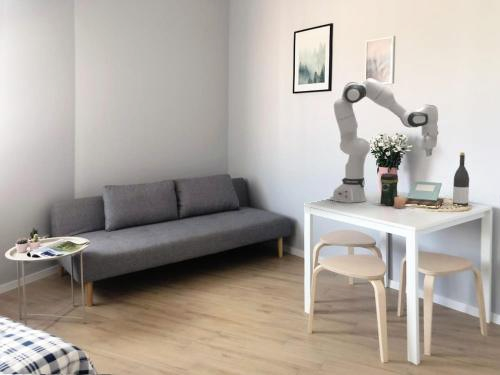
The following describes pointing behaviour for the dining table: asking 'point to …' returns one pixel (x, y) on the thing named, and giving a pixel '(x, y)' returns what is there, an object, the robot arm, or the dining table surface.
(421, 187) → the teal display board
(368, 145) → the robot arm
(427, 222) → the dining table surface
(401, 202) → the peach round lump
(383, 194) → the coffee jar
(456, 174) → the wine bottle
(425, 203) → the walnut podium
